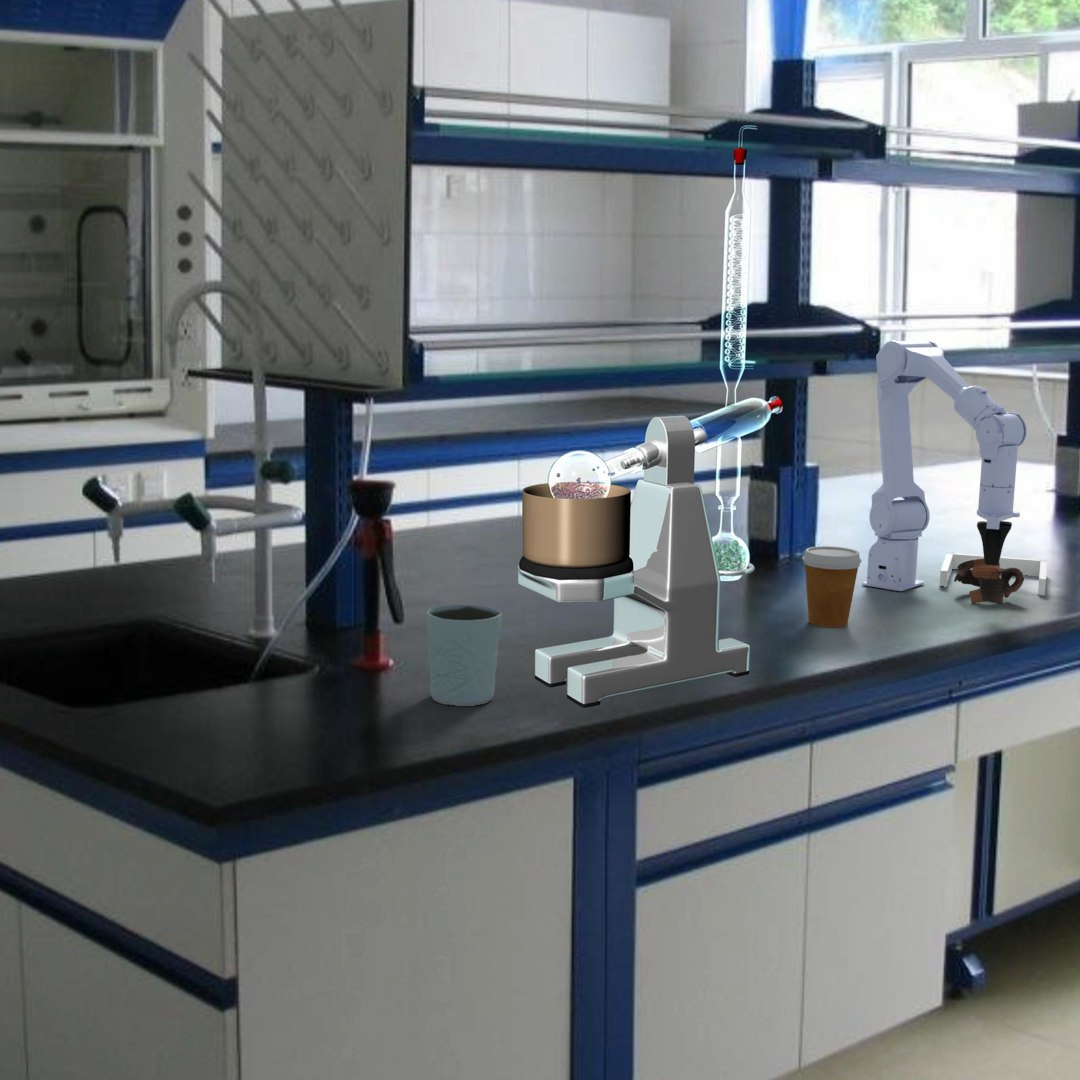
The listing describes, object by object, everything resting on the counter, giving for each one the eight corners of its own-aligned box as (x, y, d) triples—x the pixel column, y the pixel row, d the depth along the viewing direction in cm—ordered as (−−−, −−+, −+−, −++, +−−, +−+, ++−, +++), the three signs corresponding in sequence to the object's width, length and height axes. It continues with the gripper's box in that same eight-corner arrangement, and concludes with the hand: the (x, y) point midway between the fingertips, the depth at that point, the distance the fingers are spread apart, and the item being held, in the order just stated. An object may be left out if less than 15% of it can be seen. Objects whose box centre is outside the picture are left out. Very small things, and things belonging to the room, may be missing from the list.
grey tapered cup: (426, 708, 236) (428, 620, 234) (423, 687, 246) (424, 603, 244) (502, 708, 237) (505, 620, 235) (496, 687, 247) (498, 603, 245)
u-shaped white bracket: (1044, 595, 317) (1046, 579, 317) (939, 586, 322) (940, 570, 322) (1045, 575, 334) (1047, 560, 334) (946, 567, 339) (947, 552, 339)
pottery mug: (953, 605, 310) (948, 560, 313) (963, 619, 318) (958, 575, 321) (1023, 594, 305) (1017, 549, 308) (1032, 609, 314) (1026, 564, 316)
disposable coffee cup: (813, 631, 285) (818, 557, 283) (789, 617, 294) (793, 546, 292) (867, 628, 288) (872, 556, 286) (841, 615, 297) (846, 545, 295)
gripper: (1020, 493, 292) (1014, 574, 294) (1023, 480, 305) (1017, 558, 308) (976, 490, 294) (970, 570, 296) (981, 478, 307) (975, 555, 310)
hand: (991, 564), depth 302 cm, fingers closed
